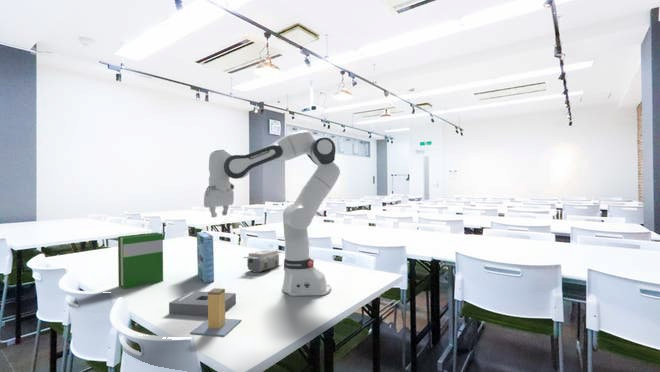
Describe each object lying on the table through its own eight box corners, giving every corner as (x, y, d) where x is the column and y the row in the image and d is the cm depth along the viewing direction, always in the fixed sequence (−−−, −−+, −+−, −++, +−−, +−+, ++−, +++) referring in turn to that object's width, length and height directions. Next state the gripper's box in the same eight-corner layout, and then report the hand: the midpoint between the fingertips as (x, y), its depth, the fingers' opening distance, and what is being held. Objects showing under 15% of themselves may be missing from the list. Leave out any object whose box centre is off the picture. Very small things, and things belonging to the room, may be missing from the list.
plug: (225, 323, 112) (224, 288, 112) (219, 328, 108) (218, 292, 108) (214, 322, 113) (214, 288, 113) (208, 327, 109) (207, 292, 109)
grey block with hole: (235, 303, 133) (235, 292, 133) (218, 316, 119) (218, 305, 119) (191, 300, 136) (191, 290, 136) (169, 313, 123) (169, 302, 123)
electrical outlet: (239, 272, 177) (240, 254, 178) (268, 264, 203) (268, 248, 204) (257, 274, 173) (258, 255, 173) (284, 265, 199) (285, 249, 200)
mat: (241, 320, 115) (241, 319, 115) (224, 336, 103) (224, 335, 103) (210, 318, 117) (210, 317, 117) (190, 333, 106) (190, 332, 106)
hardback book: (123, 289, 152) (123, 238, 152) (118, 286, 157) (118, 236, 157) (163, 281, 165) (162, 233, 165) (157, 278, 170) (156, 232, 170)
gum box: (214, 281, 163) (213, 236, 163) (203, 283, 161) (203, 236, 160) (206, 273, 180) (206, 231, 180) (196, 274, 177) (196, 232, 177)
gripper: (213, 185, 137) (213, 218, 137) (236, 185, 157) (236, 214, 157) (199, 185, 138) (200, 218, 138) (223, 185, 158) (224, 214, 158)
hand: (219, 216), depth 148 cm, fingers open, 8 cm apart
